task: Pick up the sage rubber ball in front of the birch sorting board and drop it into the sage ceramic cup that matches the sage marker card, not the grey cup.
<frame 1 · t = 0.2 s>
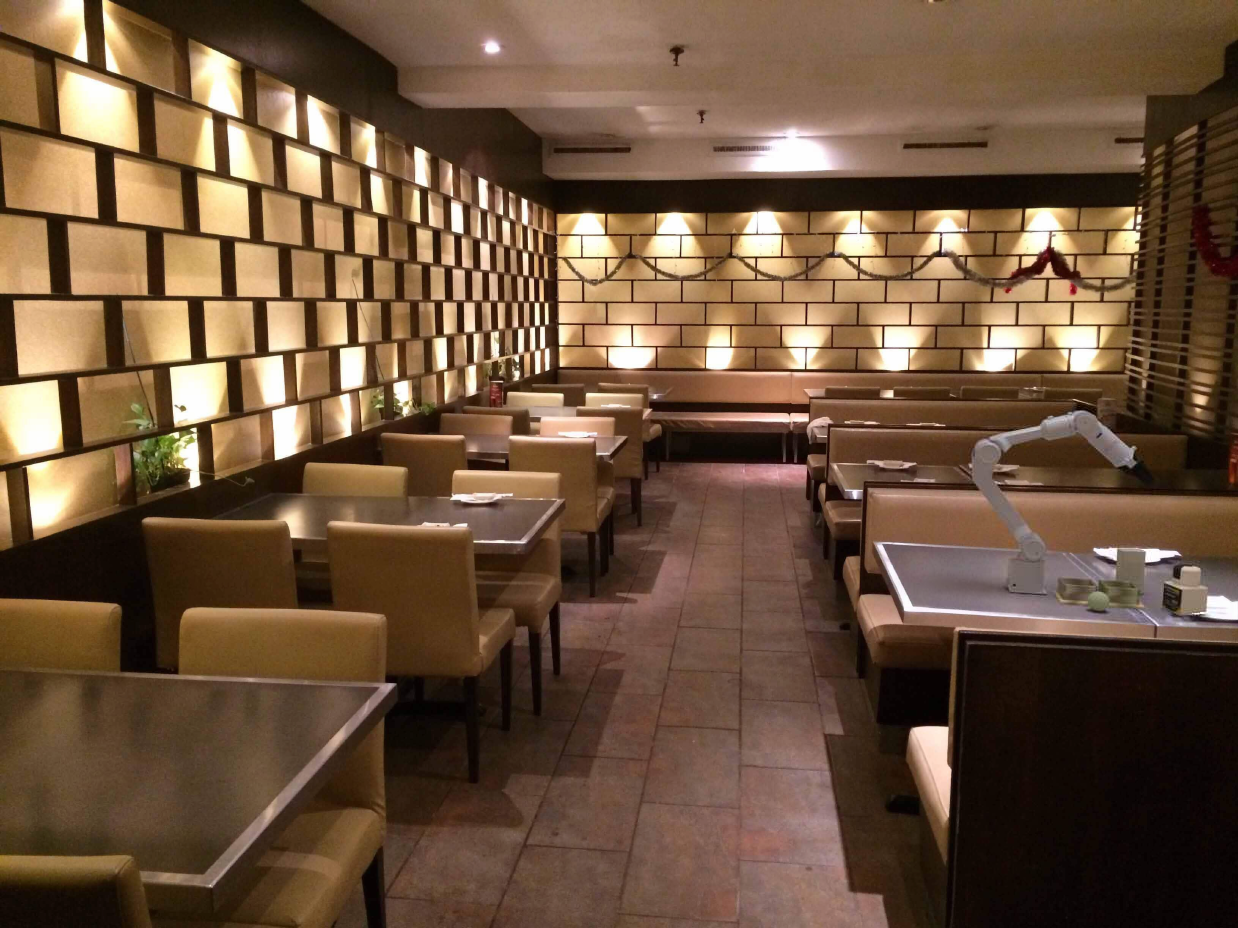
hand: (1149, 481, 256), 32 cm above the table, tool tilted 50°, fingers open, 7 cm apart
sage ball: (1098, 601, 247), point 2 cm above the table
sorting board: (1098, 601, 257), on the table
medicine bottle: (1183, 612, 247), on the table
skincare box: (1128, 593, 266), on the table
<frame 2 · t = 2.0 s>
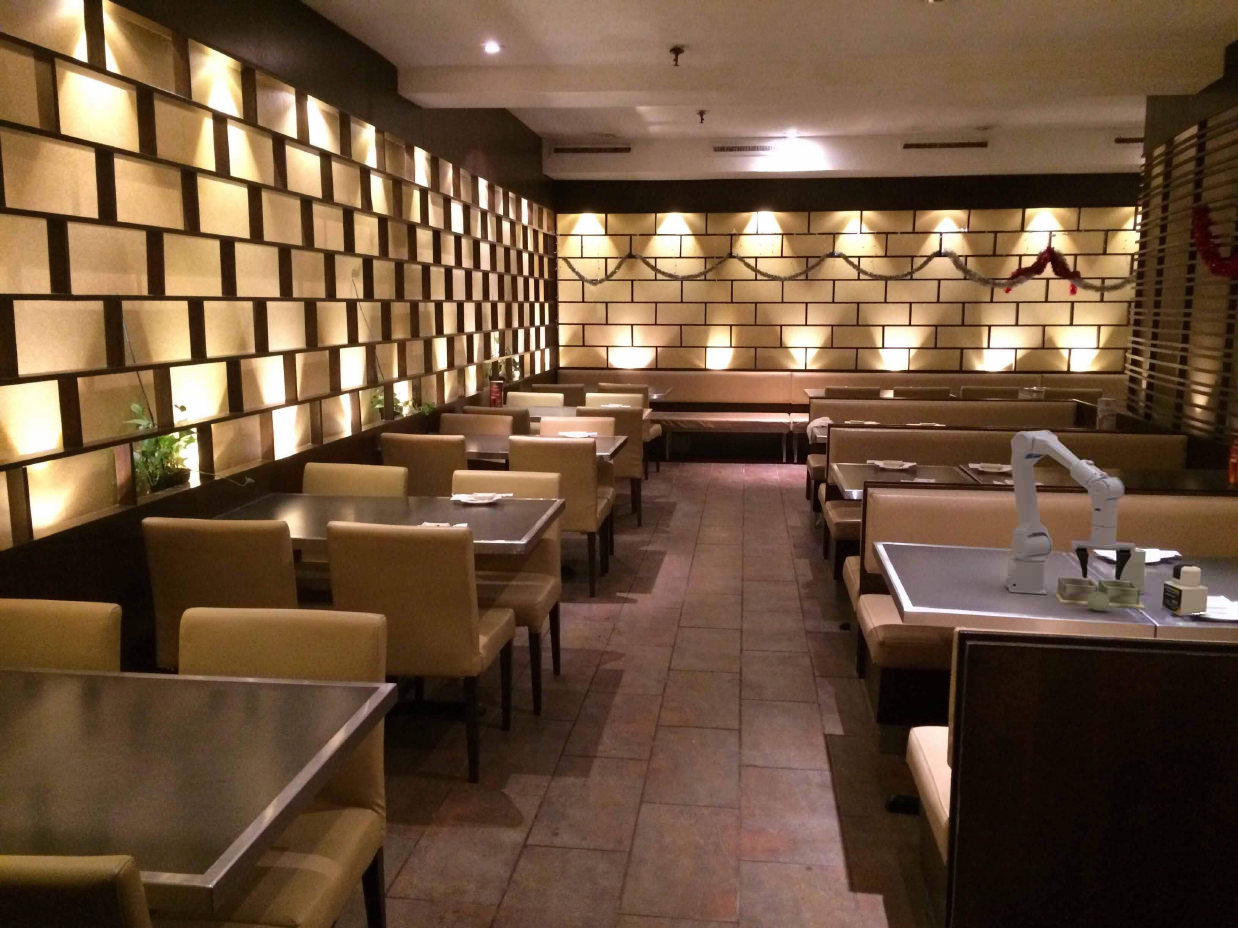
hand: (1100, 578, 246), 9 cm above the table, tool pointing down, fingers open, 7 cm apart
nothing on the table moved.
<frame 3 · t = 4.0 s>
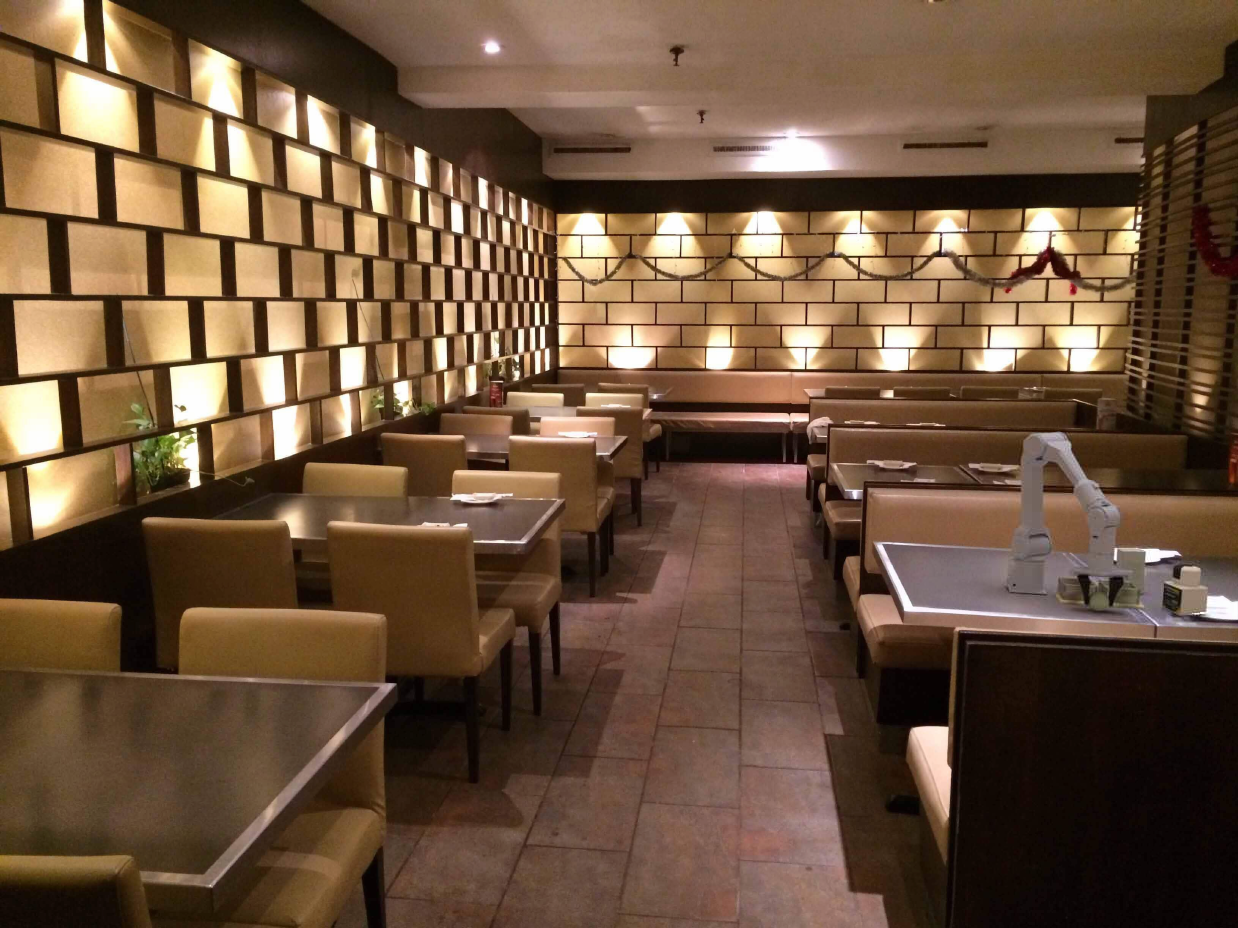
hand: (1098, 604, 247), 2 cm above the table, tool pointing down, fingers closed on sage ball, 5 cm apart
sage ball: (1098, 601, 247), point 2 cm above the table, touching gripper
everything else where it was.
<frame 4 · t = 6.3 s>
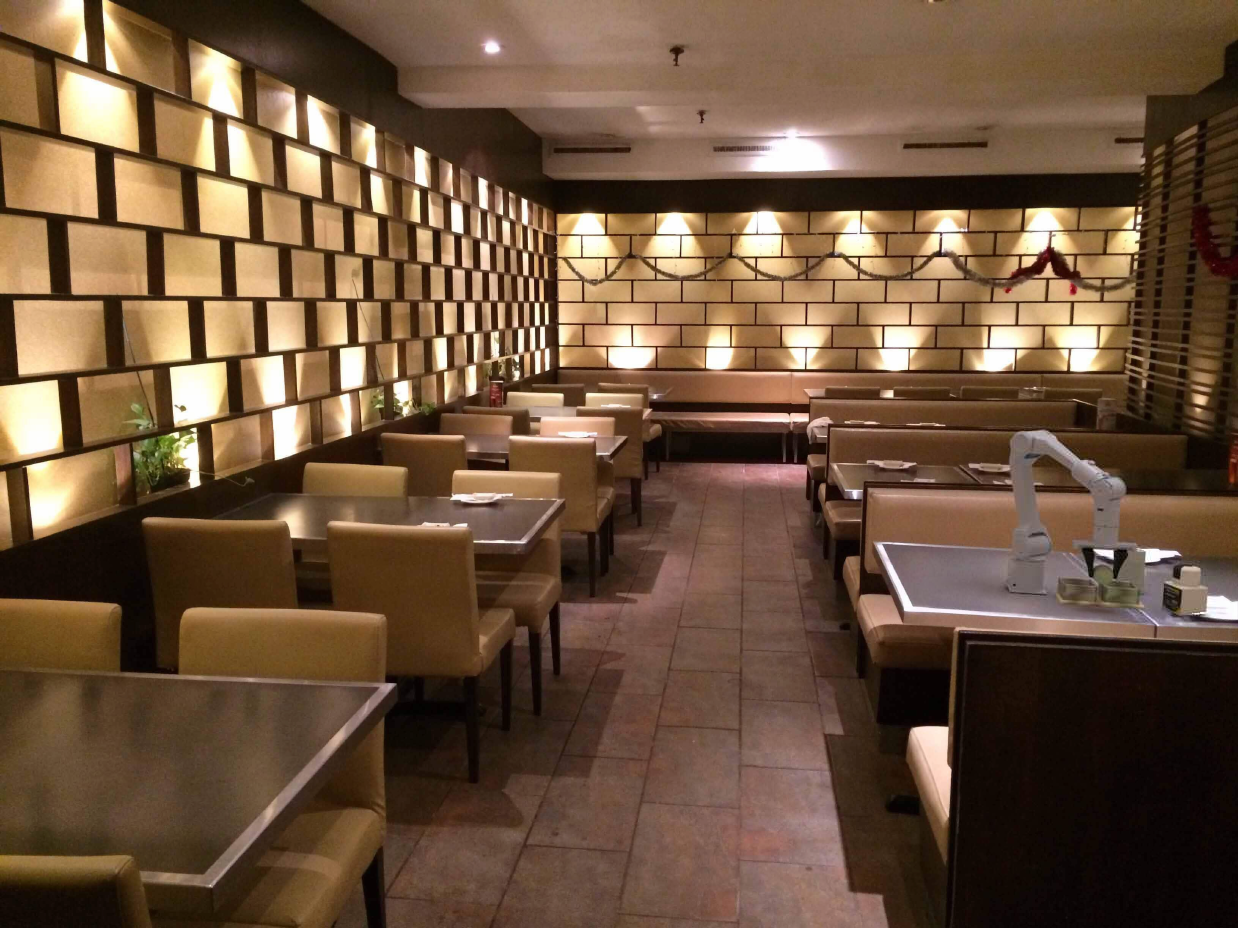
hand: (1102, 577, 248), 8 cm above the table, tool pointing down, fingers closed on sage ball, 5 cm apart
sage ball: (1102, 574, 247), point 9 cm above the table, touching gripper
everything else where it was.
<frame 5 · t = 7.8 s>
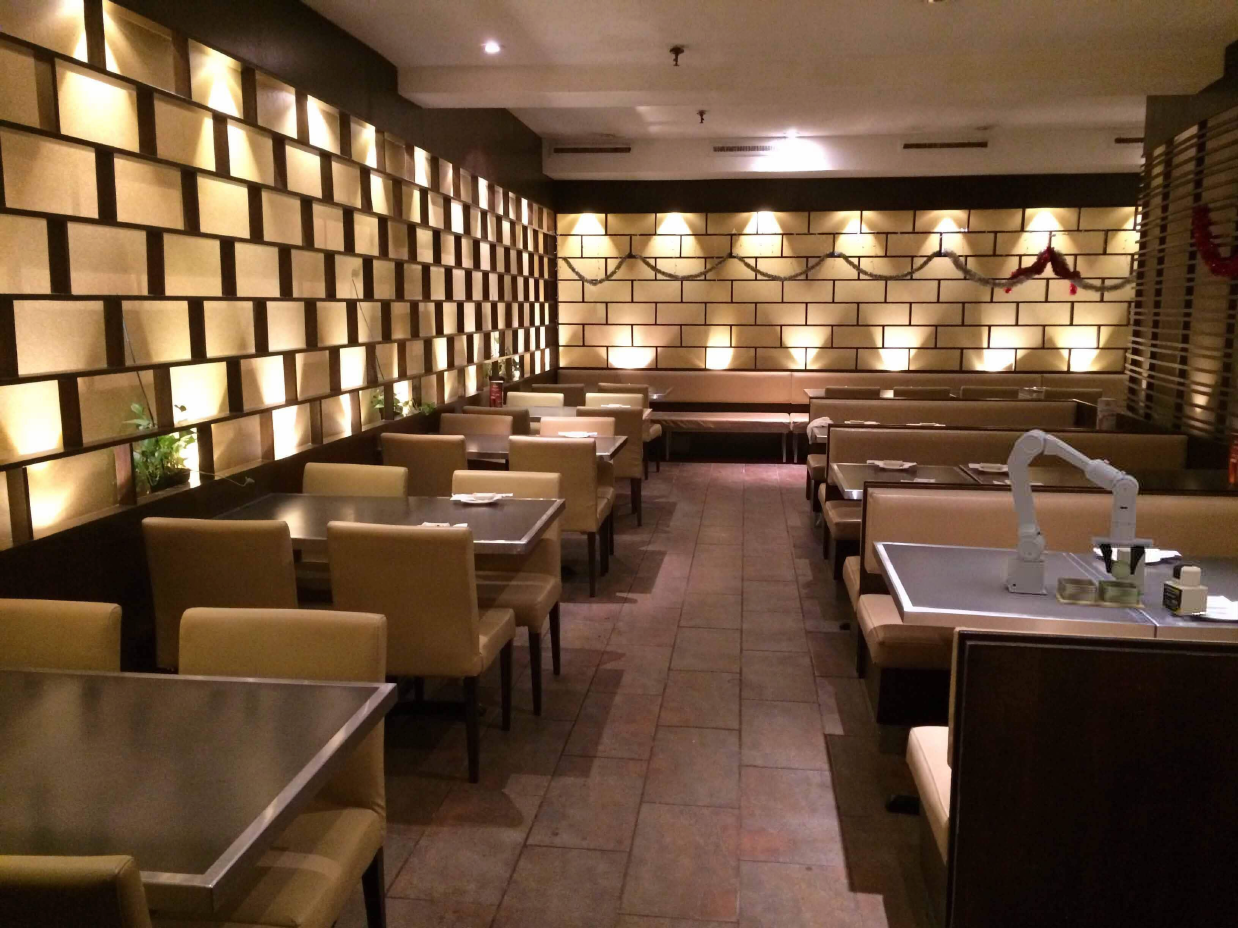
hand: (1119, 573, 255), 8 cm above the table, tool pointing down, fingers closed on sage ball, 5 cm apart
sage ball: (1120, 569, 255), point 9 cm above the table, touching gripper
everything else where it was.
when the fingers open (5 cm above the table, at t = 9.1 s): sage ball drops 3 cm, resting on sorting board.
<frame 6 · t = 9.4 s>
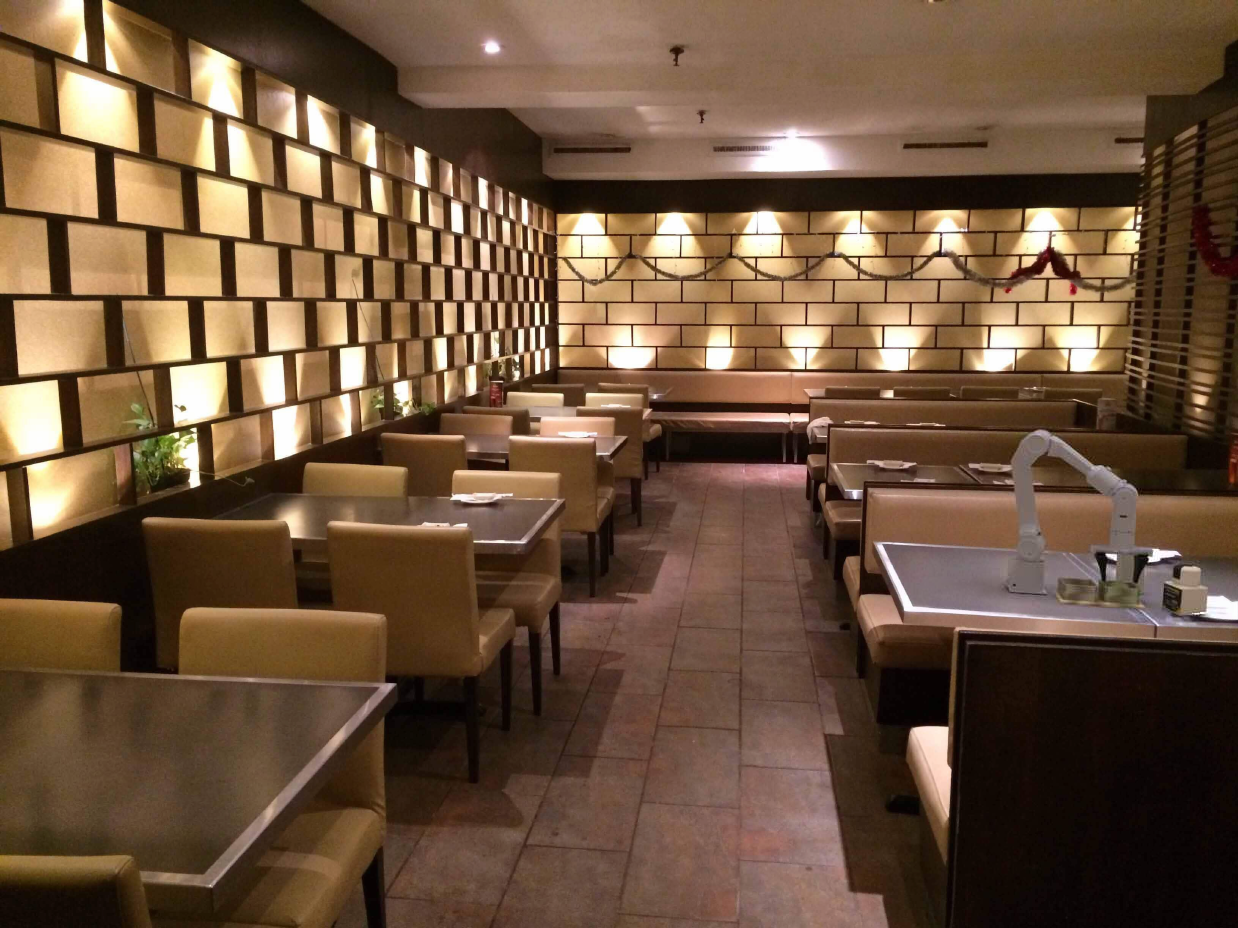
hand: (1119, 581, 256), 5 cm above the table, tool pointing down, fingers open, 7 cm apart
sage ball: (1118, 590, 256), point 3 cm above the table, touching sorting board
everything else where it was.
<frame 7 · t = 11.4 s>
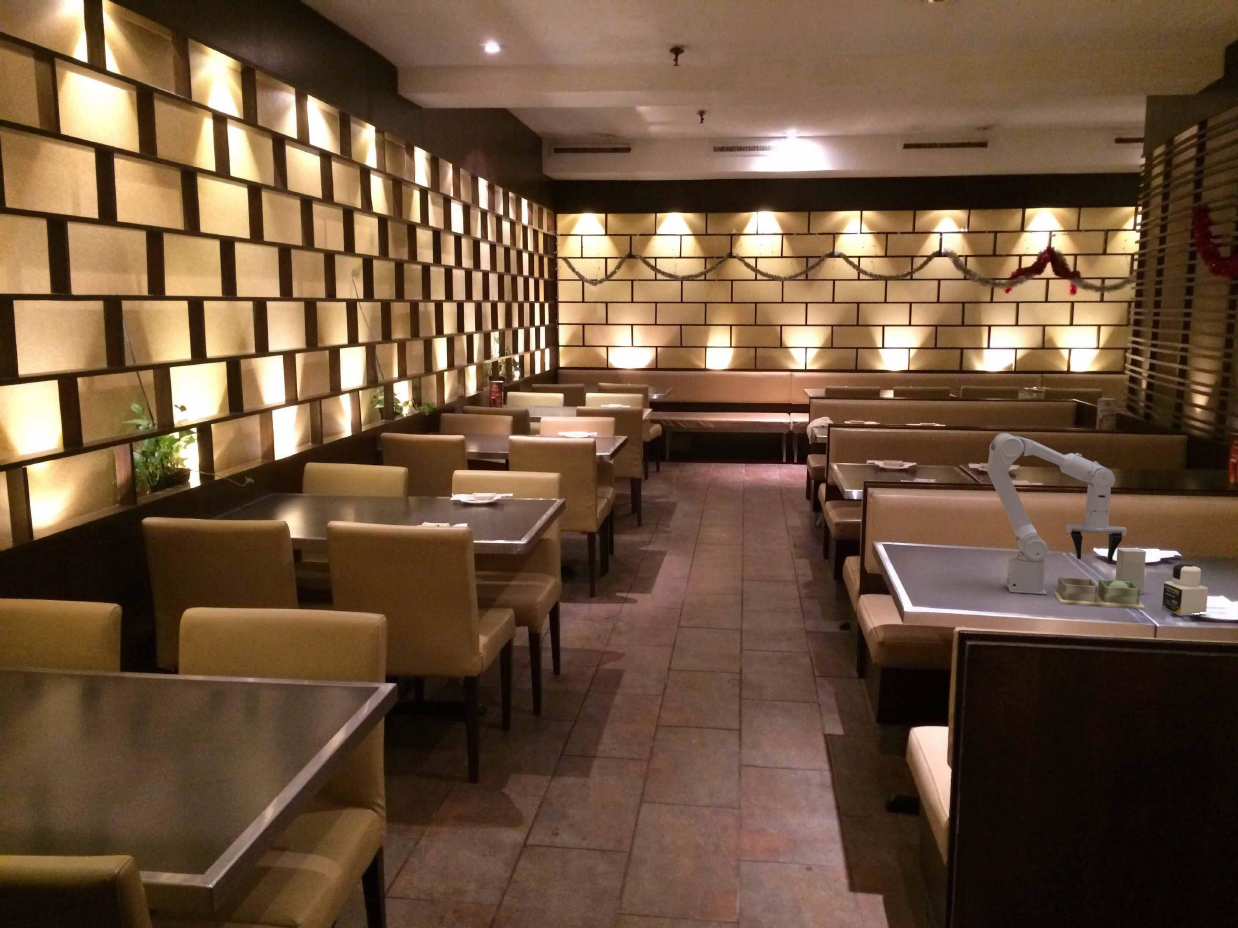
hand: (1094, 559, 263), 9 cm above the table, tool pointing down, fingers open, 7 cm apart
nothing on the table moved.
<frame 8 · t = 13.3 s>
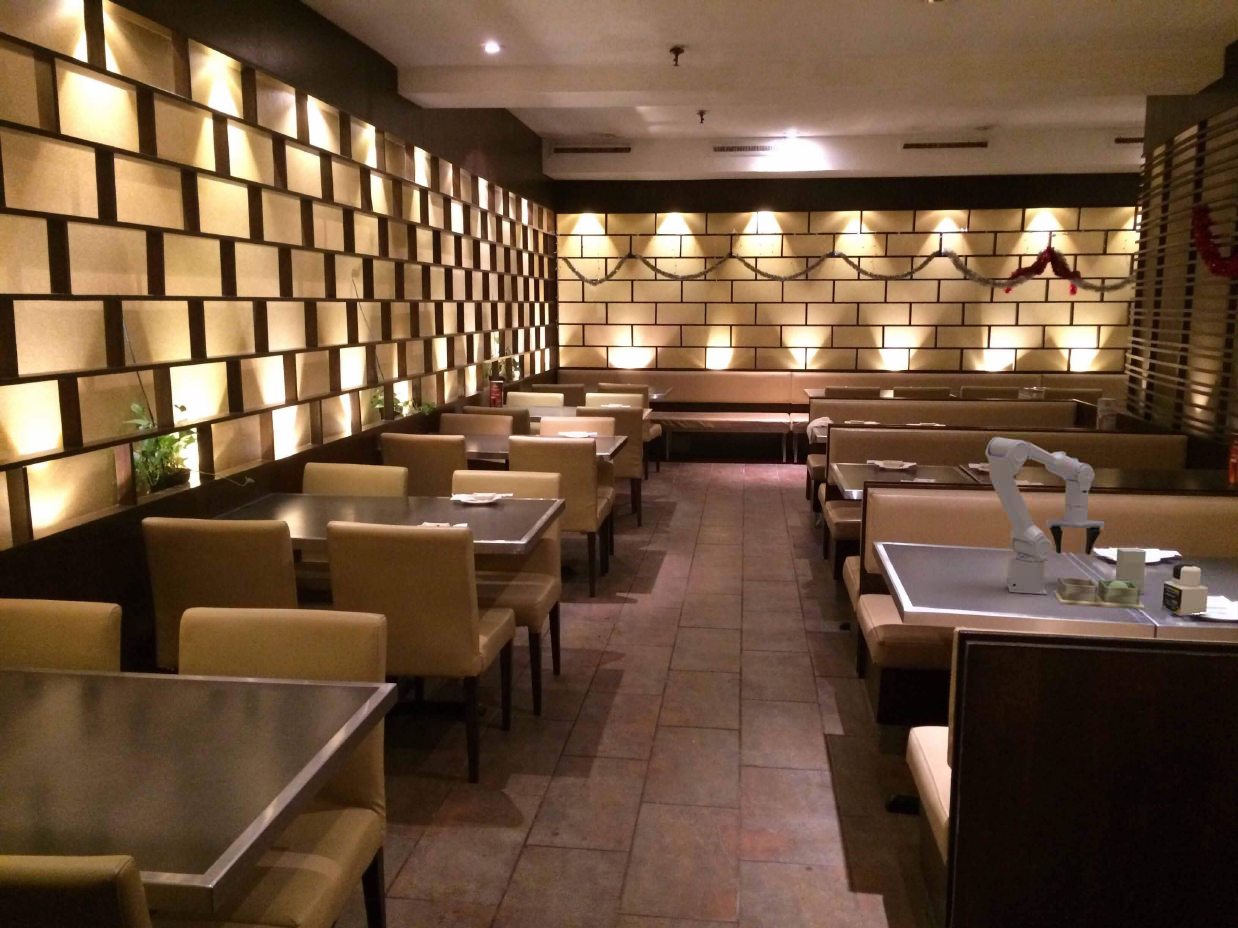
hand: (1073, 553, 271), 9 cm above the table, tool pointing down, fingers open, 7 cm apart
nothing on the table moved.
at the end: sage ball 0.1 cm from the target spot on the sorting board, point 3.1 cm above the sorting board's base; the gripper is holding nothing; sage ball moved 13.0 cm from its start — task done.
